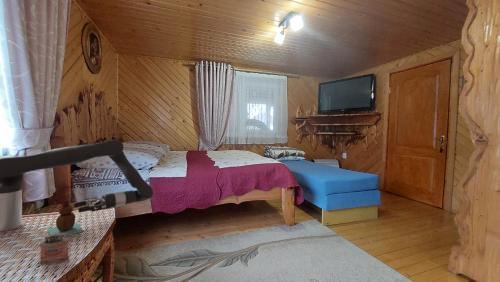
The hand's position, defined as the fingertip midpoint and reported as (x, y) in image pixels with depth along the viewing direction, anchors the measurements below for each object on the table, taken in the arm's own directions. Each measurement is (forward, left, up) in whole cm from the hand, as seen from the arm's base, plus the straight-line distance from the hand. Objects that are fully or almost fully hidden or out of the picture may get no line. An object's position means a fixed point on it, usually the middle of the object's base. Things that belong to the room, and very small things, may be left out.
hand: (76, 207), depth 105 cm
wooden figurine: (0, -4, -10) cm, 11 cm away
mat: (0, -4, -10) cm, 11 cm away
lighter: (+25, -12, -10) cm, 29 cm away
